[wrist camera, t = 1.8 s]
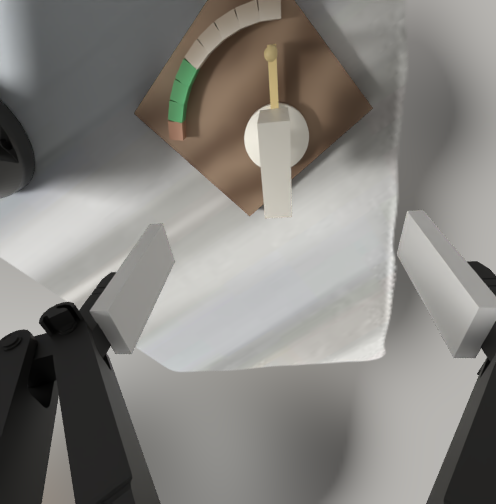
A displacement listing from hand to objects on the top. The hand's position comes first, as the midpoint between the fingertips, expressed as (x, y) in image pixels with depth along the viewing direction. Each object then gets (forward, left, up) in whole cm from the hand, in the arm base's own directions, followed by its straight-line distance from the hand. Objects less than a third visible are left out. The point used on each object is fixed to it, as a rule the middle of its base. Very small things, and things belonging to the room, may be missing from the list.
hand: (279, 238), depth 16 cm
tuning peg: (-2, +1, -20) cm, 20 cm away
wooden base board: (-4, 0, -23) cm, 23 cm away
